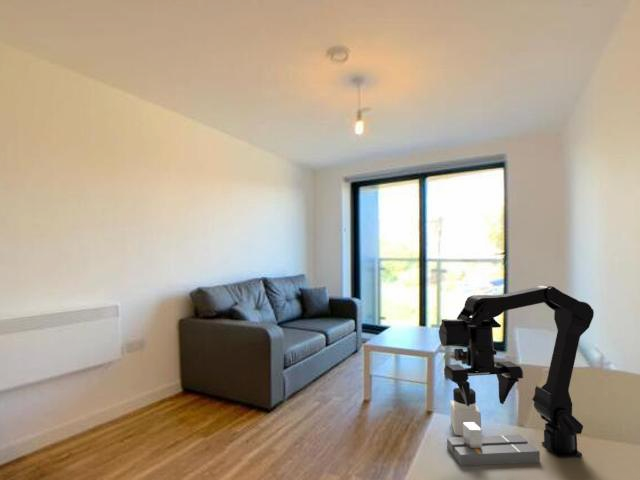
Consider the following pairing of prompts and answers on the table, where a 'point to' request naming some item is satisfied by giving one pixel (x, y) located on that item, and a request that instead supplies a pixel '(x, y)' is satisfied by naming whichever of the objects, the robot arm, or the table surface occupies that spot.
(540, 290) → the robot arm
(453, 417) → the medicine bottle
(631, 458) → the table surface
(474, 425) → the fader tab
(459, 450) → the slider console
